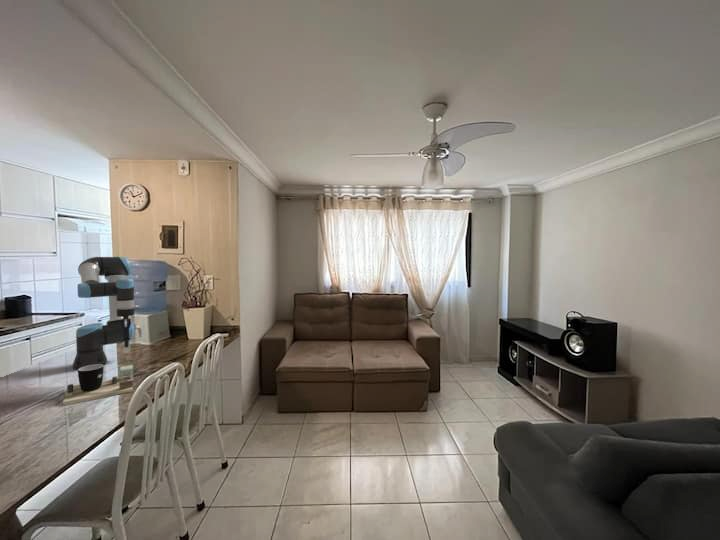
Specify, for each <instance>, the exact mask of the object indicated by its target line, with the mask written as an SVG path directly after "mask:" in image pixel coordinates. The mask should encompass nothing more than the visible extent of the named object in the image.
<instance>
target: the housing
mask: <svg viewBox="0 0 720 540" xmlns="http://www.w3.org/2000/svg"><path fill="white" fill-rule="evenodd" d="M128 372H129V376H130V379H133V380H134V367H133V364H130V365H124V366H120V369H119V378H120V381H122V380H124V377H125V373H128Z"/></svg>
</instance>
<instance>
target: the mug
mask: <svg viewBox="0 0 720 540" xmlns="http://www.w3.org/2000/svg"><path fill="white" fill-rule="evenodd" d="M77 378H78V383H79V384H78V385H80V387H81V390H82V391H84V392H88V391H93V390H96V389H99V388H100V387H101V385H102V381H103V380H104V365H102V364H94V365H88V366H84V367H81V368H79V369H77Z"/></svg>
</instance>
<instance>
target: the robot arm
mask: <svg viewBox="0 0 720 540" xmlns="http://www.w3.org/2000/svg"><path fill="white" fill-rule="evenodd" d="M130 265H131V264H130V261H129V259H128V258H127V257H125V256H124V257H123V256H94V257H90V258H87V259H85V260H83V261H82V262H81V263H79V265H78V267H77V271H78V274H79V276H80V278H81V281H80V283H78V284H77V297H78V298H81V299H89V298H102V297H108V305H109V308H108V309H109V319H108V320H107V321H106V324H103V323H102V322H96V323H91V324H90V323H89V324H85V325H82V326H80V327H78V328H77V329H76V331H75V333H76V334H75V339H76V342H75V343H76V354H75V357H74V359H73V362H72V369H74V370H78V369H79V368H81V367H84V366H88V365H94V364H102V365H103V366H104V365H106V364H107V363H108V357H107V355H106V353H105V351H104V346H107V345H113V344H121V343H122V344H123V345H122V347H123V348H122V350H123V351H122V352H123V354H130V353H131V346H130V345H131V344H130V342H131V341H132V340H133V337H134V332H135V331H134V330H135V322H133V321H132V319H131V318H129V317H132V316H134V315H135V313H136V312H135V311H136V309H135V281H134V279H133V278H129V276H130V275H131V274H132V272H131V266H130ZM100 276H101V277H102V276H104V279H105V280H106V282H101V280H100Z"/></svg>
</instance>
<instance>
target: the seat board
mask: <svg viewBox="0 0 720 540" xmlns="http://www.w3.org/2000/svg"><path fill="white" fill-rule="evenodd" d="M66 385H67V386H66V387H67V388H66V389H67V392H66V394H65V396H64V399H63V401H62V406H68V405H72V404H76V403H77V404H78V403H83V402H86V401H88V402H89V401H92V400H97V399H103V398H107V397H108V398H109V397H113V396H117V395H123V394H128V393H133V392H134V378H133V379H130V375H126V376H124V380H122V381H120V377H118V376H113V377H112V378H109V379H105V380H104V379H103V380H102V385H101V387H100V388H99V389H96V390H93V391H88V392H84V391H82V390H81V387H80V384H76V385H74V384H73V383H71V384H66Z"/></svg>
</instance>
